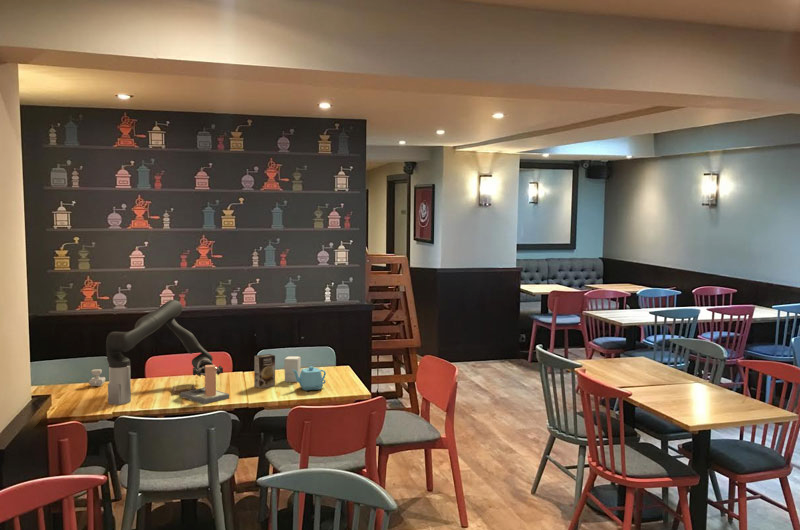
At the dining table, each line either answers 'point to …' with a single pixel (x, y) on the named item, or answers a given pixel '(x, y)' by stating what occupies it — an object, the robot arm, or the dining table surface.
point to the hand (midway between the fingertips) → (209, 373)
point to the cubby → (182, 390)
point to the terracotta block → (210, 380)
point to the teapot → (310, 378)
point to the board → (203, 396)
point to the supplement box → (292, 368)
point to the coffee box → (264, 371)
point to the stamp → (97, 378)
